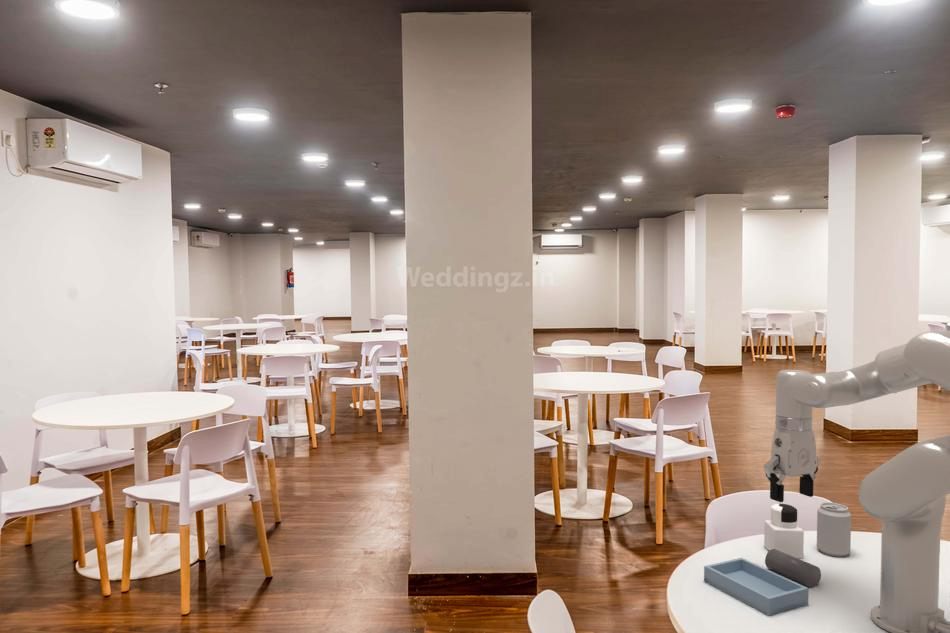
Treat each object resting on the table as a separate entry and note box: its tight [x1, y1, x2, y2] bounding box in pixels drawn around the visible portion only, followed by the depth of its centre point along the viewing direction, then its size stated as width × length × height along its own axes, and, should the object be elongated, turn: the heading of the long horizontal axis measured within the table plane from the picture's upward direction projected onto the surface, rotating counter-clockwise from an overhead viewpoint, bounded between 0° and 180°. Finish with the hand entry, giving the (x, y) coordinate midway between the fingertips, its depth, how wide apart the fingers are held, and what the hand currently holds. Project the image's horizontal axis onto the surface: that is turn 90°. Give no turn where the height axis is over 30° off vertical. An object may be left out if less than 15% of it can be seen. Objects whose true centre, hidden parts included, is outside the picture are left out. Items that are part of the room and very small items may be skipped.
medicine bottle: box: [763, 503, 805, 560], centre depth 163 cm, size 7×7×12 cm
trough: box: [703, 557, 809, 617], centre depth 141 cm, size 18×12×4 cm, turn 25°
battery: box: [764, 549, 822, 589], centre depth 149 cm, size 12×5×5 cm, turn 25°
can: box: [816, 501, 852, 558], centre depth 164 cm, size 8×8×12 cm
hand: (791, 497), depth 149 cm, fingers open, 9 cm apart
